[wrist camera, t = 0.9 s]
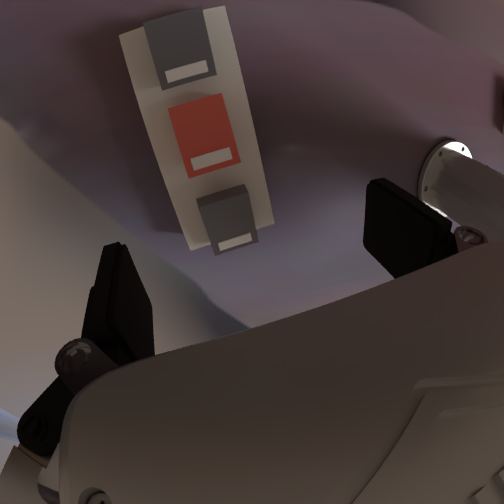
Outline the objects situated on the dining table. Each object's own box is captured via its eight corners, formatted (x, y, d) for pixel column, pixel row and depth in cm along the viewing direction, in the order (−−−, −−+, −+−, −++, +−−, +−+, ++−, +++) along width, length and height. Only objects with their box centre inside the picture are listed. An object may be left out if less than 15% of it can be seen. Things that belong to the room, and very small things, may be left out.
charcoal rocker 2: (244, 183, 26) (248, 192, 25) (254, 232, 31) (258, 242, 30) (195, 198, 26) (198, 208, 25) (212, 245, 30) (215, 256, 29)
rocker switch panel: (218, 13, 22) (225, 3, 18) (265, 209, 34) (276, 227, 31) (124, 40, 21) (117, 34, 17) (188, 234, 33) (191, 254, 30)
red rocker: (219, 95, 23) (221, 92, 21) (238, 161, 25) (241, 162, 24) (168, 110, 22) (167, 108, 21) (188, 176, 25) (188, 179, 23)
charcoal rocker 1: (199, 7, 17) (201, 6, 16) (214, 72, 22) (217, 75, 21) (143, 22, 17) (142, 22, 16) (161, 87, 21) (162, 91, 20)
